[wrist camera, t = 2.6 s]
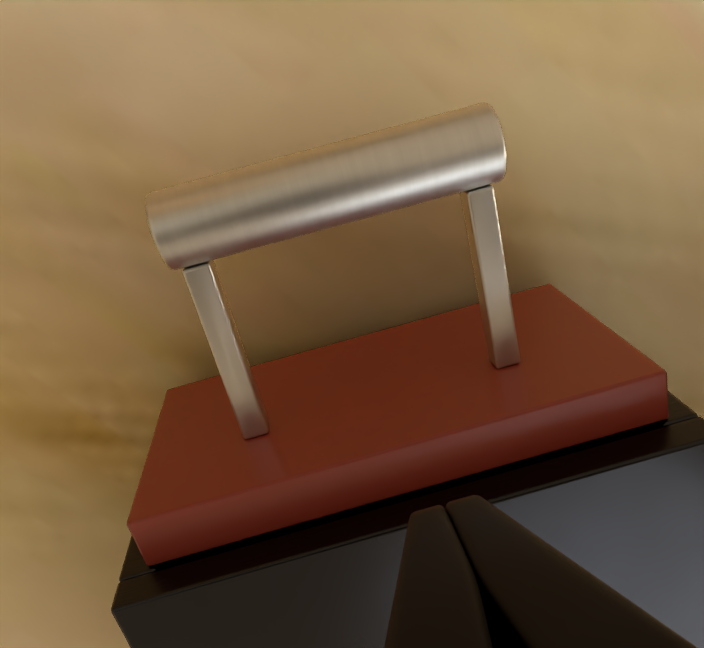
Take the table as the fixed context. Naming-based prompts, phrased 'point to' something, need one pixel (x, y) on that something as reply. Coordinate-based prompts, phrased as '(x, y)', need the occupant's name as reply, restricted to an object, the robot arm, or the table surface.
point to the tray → (369, 355)
